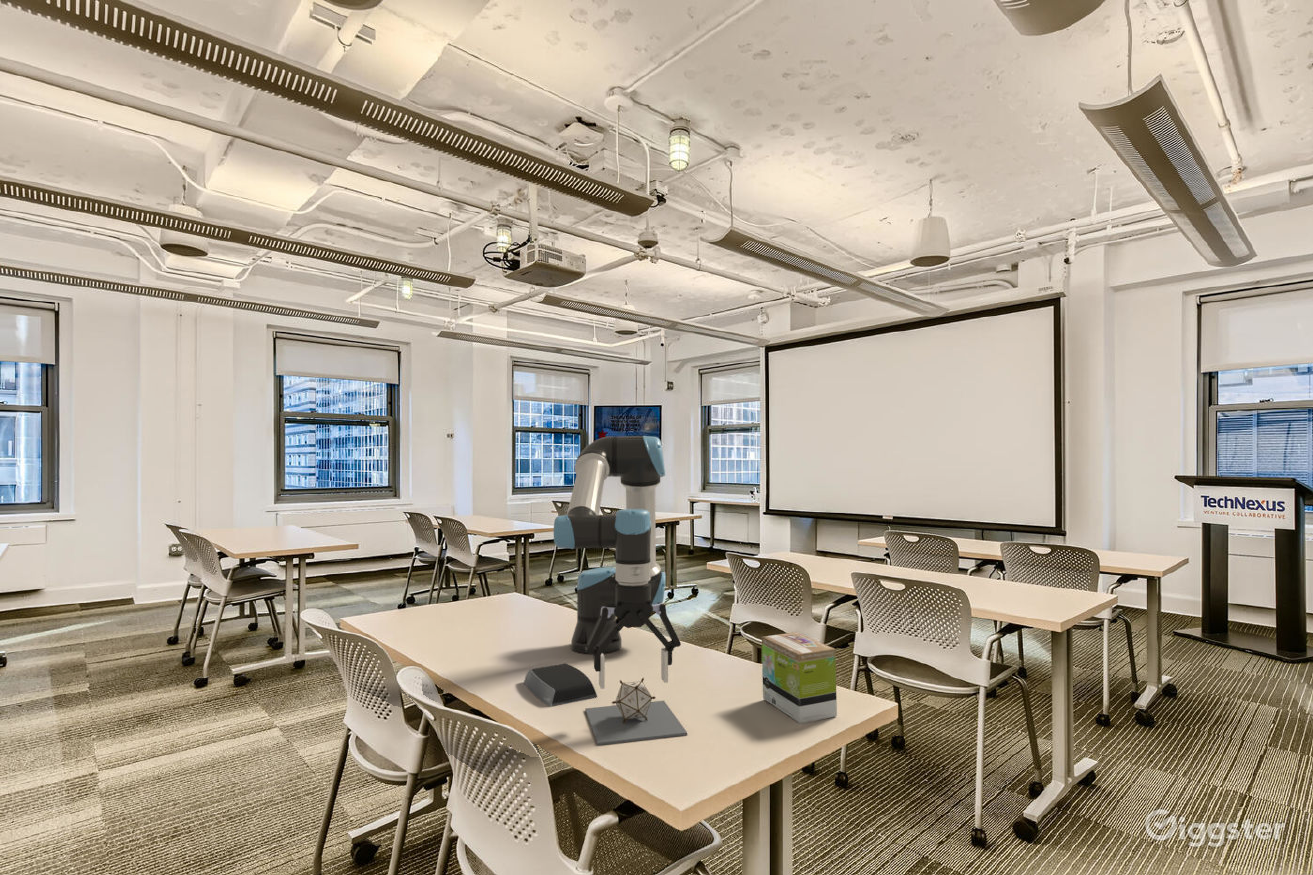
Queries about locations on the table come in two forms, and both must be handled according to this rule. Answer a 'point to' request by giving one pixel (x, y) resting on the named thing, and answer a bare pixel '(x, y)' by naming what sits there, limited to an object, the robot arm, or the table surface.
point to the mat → (633, 724)
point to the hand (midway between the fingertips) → (633, 683)
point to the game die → (633, 700)
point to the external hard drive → (559, 684)
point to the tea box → (799, 676)
